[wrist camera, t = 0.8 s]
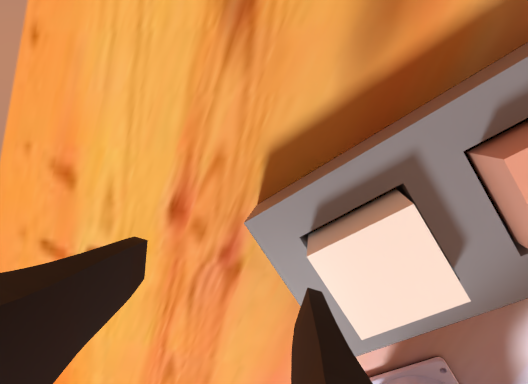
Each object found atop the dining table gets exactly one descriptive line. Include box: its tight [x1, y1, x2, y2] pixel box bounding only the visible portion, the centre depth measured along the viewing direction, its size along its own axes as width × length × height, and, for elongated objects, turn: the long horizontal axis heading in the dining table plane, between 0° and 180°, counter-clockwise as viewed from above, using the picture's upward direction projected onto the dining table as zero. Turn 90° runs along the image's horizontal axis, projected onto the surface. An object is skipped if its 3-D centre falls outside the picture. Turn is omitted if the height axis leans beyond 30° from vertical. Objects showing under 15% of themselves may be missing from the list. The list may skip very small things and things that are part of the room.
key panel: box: [244, 43, 528, 357], centre depth 16 cm, size 12×22×4 cm, turn 124°
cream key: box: [307, 189, 471, 340], centre depth 15 cm, size 6×6×3 cm
